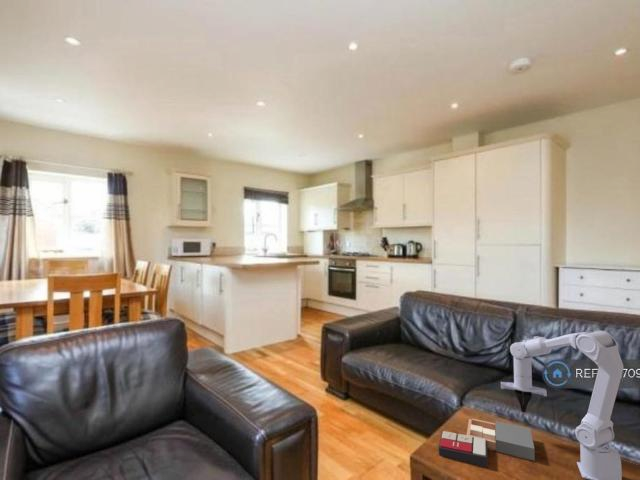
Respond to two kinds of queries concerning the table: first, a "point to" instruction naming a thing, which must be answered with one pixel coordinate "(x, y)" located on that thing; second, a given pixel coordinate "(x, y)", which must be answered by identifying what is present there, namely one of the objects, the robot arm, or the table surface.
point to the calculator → (464, 448)
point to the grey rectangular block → (514, 441)
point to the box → (484, 424)
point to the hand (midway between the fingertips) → (523, 411)
